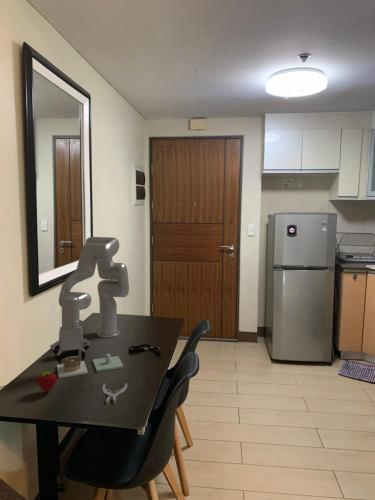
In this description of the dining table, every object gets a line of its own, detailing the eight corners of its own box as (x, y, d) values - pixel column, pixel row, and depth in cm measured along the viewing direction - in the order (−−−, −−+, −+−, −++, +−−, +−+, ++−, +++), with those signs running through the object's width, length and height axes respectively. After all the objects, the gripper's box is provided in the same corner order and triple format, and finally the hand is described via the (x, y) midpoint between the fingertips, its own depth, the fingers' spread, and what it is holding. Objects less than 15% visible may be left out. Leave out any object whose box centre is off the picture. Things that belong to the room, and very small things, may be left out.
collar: (63, 366, 168) (62, 357, 167) (79, 363, 170) (79, 355, 170) (64, 372, 161) (64, 363, 161) (81, 370, 164) (80, 361, 163)
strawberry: (54, 396, 143) (54, 371, 142) (34, 396, 143) (34, 371, 142) (59, 388, 149) (58, 364, 148) (40, 388, 149) (39, 365, 147)
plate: (92, 361, 175) (92, 351, 174) (118, 357, 180) (118, 347, 179) (96, 372, 164) (96, 361, 164) (123, 368, 169) (123, 357, 168)
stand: (57, 366, 169) (56, 357, 168) (84, 362, 174) (83, 353, 173) (58, 378, 158) (58, 368, 157) (87, 373, 163) (87, 363, 162)
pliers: (127, 381, 154) (124, 400, 139) (127, 384, 154) (124, 404, 139) (103, 381, 153) (97, 400, 138) (103, 385, 153) (97, 404, 138)
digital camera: (75, 351, 187) (74, 338, 186) (79, 355, 182) (78, 341, 182) (54, 356, 181) (53, 342, 180) (57, 360, 176) (57, 346, 176)
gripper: (89, 319, 170) (90, 355, 172) (49, 323, 163) (50, 361, 165) (92, 324, 163) (92, 362, 165) (50, 328, 156) (51, 367, 158)
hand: (71, 361), depth 165 cm, fingers open, 9 cm apart
